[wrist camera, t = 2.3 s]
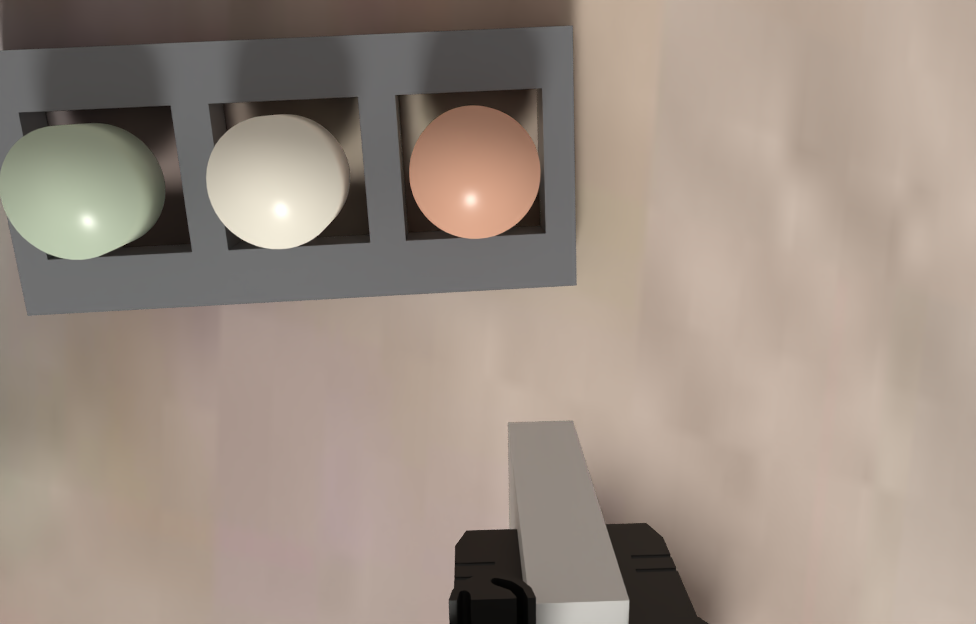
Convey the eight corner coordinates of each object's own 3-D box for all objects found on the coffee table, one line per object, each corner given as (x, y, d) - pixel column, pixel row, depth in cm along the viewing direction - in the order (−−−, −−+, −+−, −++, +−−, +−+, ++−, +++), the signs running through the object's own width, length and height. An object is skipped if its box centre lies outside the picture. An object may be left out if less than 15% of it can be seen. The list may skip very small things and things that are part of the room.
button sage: (53, 248, 30) (14, 263, 28) (29, 125, 29) (-14, 128, 26) (174, 242, 30) (147, 256, 28) (155, 120, 29) (125, 122, 26)
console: (52, 303, 33) (27, 315, 31) (2, 54, 31) (-28, 51, 29) (569, 274, 34) (576, 285, 32) (564, 30, 31) (572, 25, 29)
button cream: (236, 238, 30) (215, 252, 28) (220, 116, 29) (197, 118, 27) (355, 232, 31) (346, 245, 28) (344, 111, 29) (334, 112, 27)
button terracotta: (416, 229, 31) (414, 242, 28) (408, 108, 29) (404, 109, 27) (534, 223, 31) (542, 235, 28) (530, 102, 30) (538, 102, 27)
